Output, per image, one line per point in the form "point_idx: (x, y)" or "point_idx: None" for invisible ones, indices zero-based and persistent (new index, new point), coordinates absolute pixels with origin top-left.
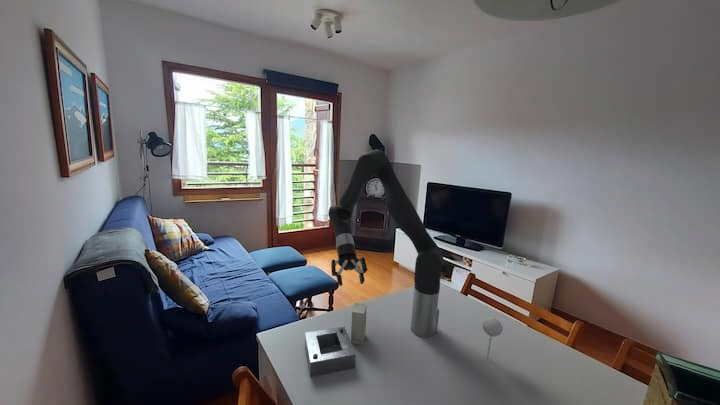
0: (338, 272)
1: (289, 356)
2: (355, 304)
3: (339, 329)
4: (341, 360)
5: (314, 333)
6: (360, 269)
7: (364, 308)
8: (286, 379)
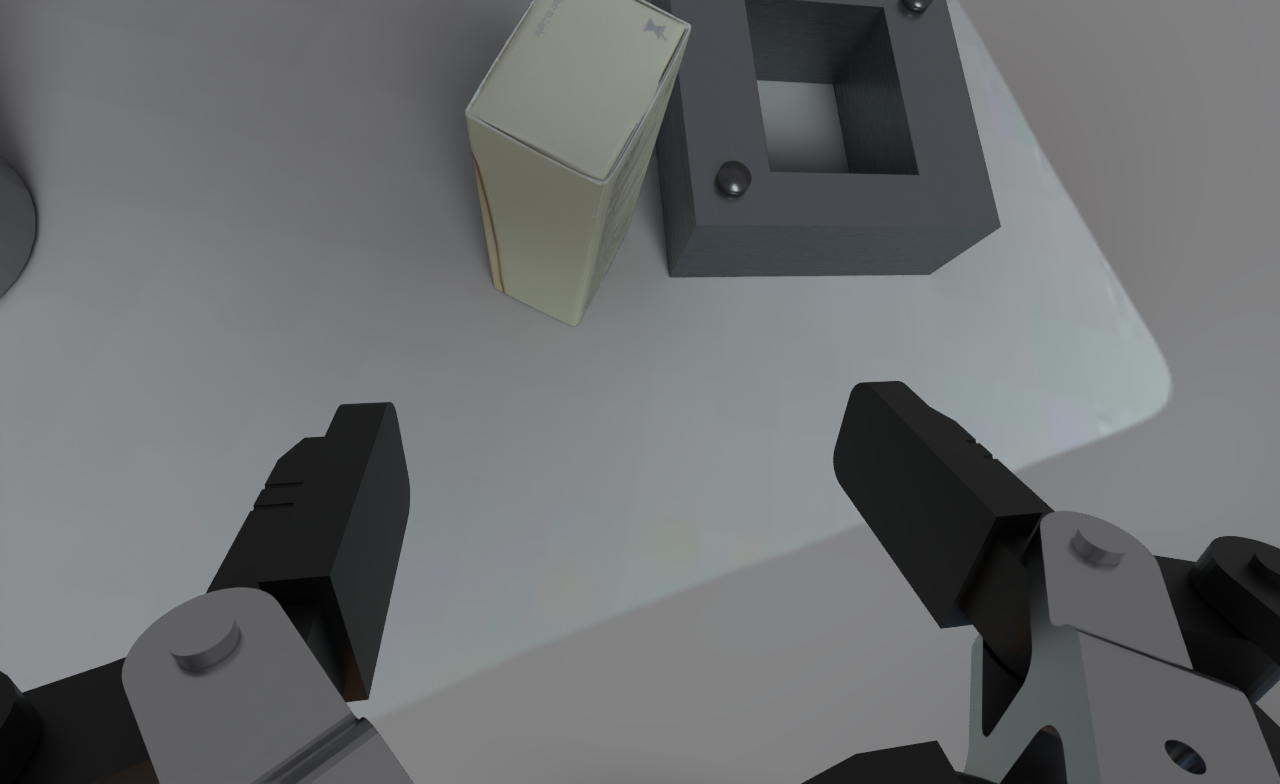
0: (1140, 577)
1: (1002, 207)
2: (613, 163)
3: (748, 182)
4: None
5: (933, 201)
6: (227, 736)
7: (519, 52)
8: (989, 70)
